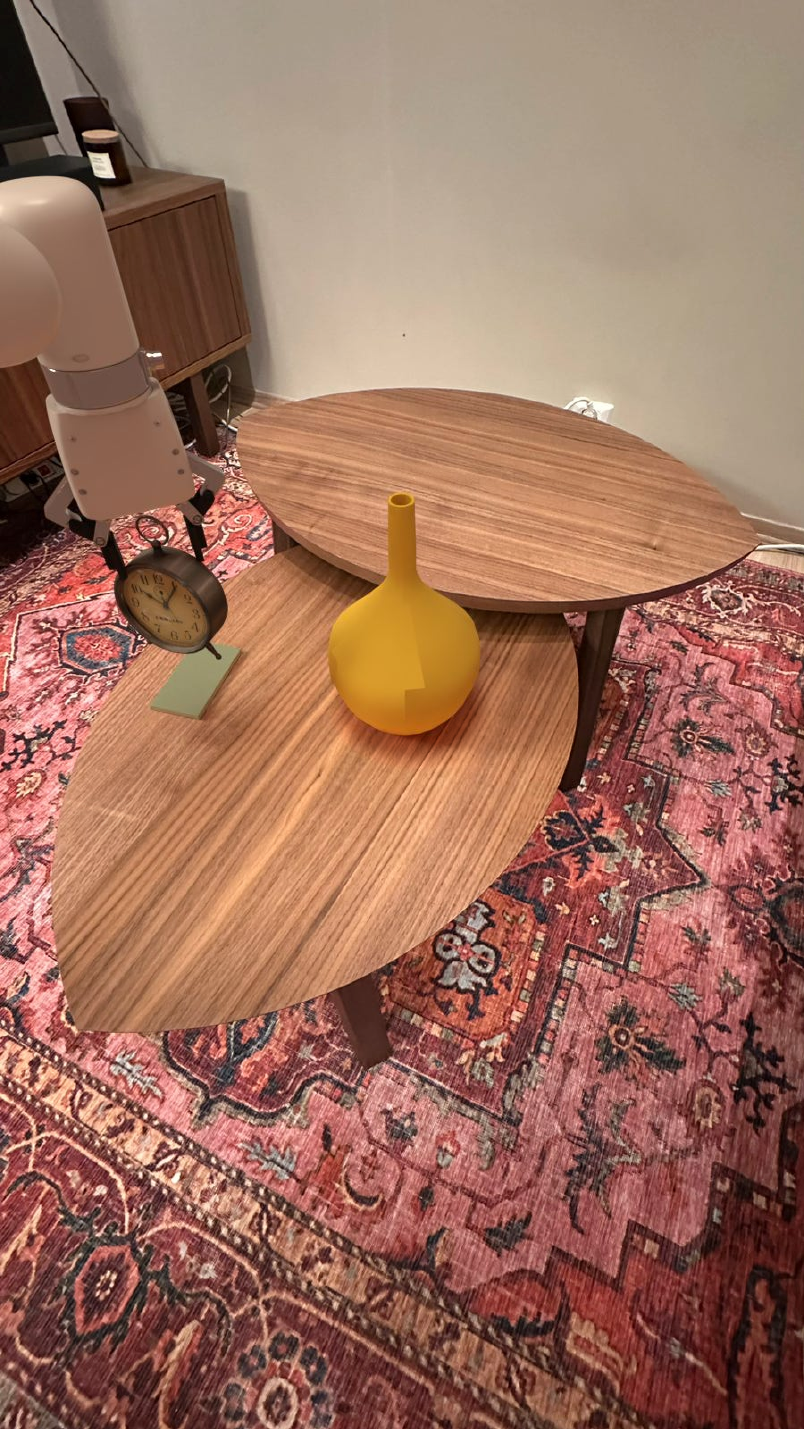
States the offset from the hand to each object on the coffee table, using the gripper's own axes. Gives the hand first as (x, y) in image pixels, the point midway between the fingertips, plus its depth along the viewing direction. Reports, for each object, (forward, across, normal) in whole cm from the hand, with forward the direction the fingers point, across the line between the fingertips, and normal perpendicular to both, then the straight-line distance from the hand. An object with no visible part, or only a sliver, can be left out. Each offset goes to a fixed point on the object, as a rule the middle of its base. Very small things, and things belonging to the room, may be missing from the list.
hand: (160, 562), depth 67 cm
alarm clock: (+11, 0, 0) cm, 11 cm away
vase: (+26, -24, +5) cm, 35 cm away
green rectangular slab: (+26, 0, -10) cm, 28 cm away
